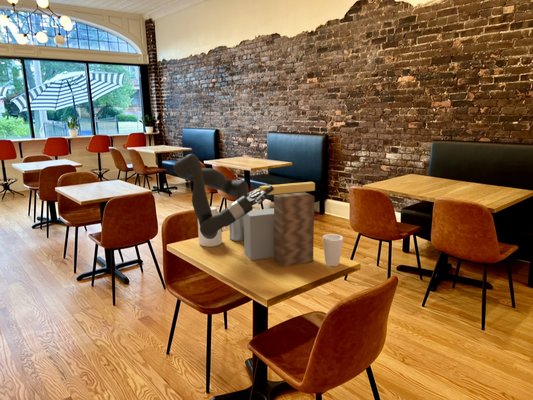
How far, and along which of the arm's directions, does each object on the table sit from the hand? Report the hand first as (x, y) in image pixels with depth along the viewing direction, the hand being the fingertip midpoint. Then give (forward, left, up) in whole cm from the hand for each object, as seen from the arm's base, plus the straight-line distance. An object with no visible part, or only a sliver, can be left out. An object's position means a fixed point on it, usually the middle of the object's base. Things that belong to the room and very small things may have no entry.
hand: (270, 186), depth 179 cm
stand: (+9, +7, -37) cm, 39 cm away
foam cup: (+27, +9, -37) cm, 47 cm away
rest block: (-8, +10, -37) cm, 39 cm away
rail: (+6, +5, -3) cm, 9 cm away
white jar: (-41, +17, -37) cm, 58 cm away
